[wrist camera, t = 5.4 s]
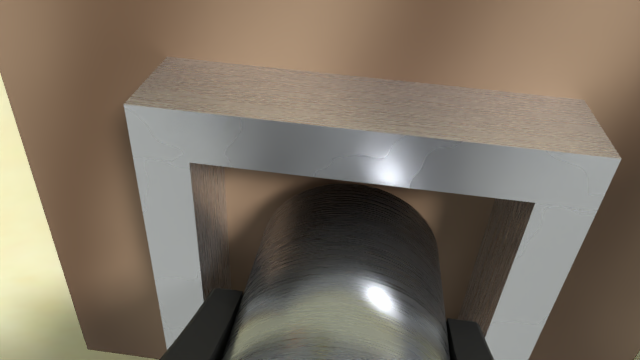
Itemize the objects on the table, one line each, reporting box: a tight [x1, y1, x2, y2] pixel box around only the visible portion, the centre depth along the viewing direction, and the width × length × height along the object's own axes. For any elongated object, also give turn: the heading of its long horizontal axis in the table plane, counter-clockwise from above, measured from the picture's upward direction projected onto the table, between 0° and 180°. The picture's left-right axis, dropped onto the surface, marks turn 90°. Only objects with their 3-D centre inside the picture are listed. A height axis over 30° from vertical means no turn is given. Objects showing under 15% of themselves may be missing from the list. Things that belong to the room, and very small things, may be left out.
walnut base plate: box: [0, 0, 640, 360], centre depth 15 cm, size 18×14×1 cm
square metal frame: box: [124, 57, 621, 360], centre depth 14 cm, size 9×9×2 cm
